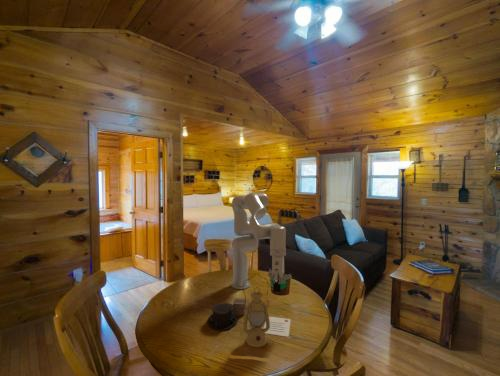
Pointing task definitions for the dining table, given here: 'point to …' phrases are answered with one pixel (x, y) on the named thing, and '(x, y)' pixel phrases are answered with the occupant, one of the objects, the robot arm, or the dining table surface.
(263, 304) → the lantern
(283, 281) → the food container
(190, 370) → the dining table surface
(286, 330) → the letter
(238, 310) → the walnut block
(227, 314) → the top hat
